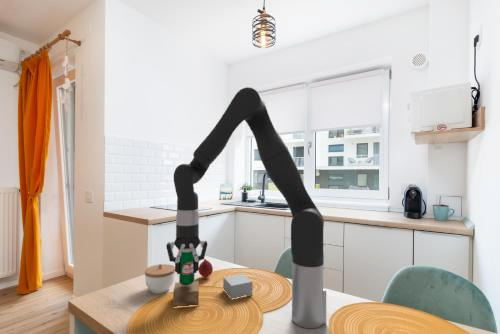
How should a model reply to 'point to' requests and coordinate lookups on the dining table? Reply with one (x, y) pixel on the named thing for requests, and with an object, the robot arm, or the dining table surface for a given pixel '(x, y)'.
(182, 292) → the walnut block
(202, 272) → the onion
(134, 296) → the dining table surface
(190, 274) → the soda can
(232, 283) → the grey block
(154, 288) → the lidded jar
